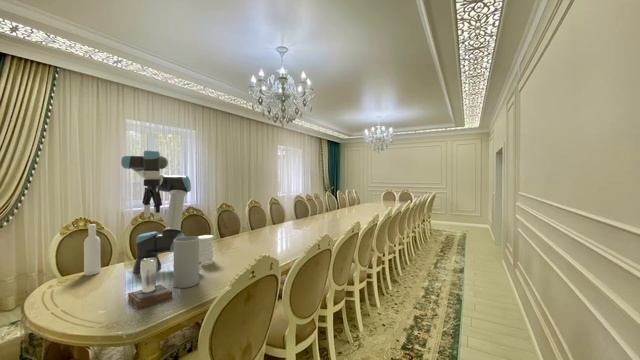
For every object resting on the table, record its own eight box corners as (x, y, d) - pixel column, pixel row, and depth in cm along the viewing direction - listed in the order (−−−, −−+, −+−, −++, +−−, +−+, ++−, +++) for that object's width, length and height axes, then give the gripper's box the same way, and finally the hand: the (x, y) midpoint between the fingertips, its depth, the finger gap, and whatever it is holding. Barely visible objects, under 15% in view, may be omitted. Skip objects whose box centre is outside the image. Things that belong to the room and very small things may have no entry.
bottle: (104, 271, 169) (103, 223, 169) (91, 275, 161) (91, 225, 161) (93, 270, 170) (93, 223, 170) (80, 275, 163) (79, 225, 163)
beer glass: (145, 287, 134) (145, 257, 133) (160, 287, 134) (160, 257, 134) (137, 293, 127) (137, 262, 127) (152, 293, 127) (152, 261, 127)
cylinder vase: (181, 279, 155) (181, 236, 155) (203, 279, 155) (202, 236, 155) (168, 288, 143) (168, 241, 142) (192, 288, 142) (191, 241, 142)
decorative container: (199, 260, 191) (199, 235, 191) (216, 259, 193) (216, 234, 193) (193, 265, 180) (193, 238, 180) (211, 265, 181) (211, 238, 181)
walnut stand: (128, 301, 128) (128, 292, 128) (160, 291, 139) (160, 283, 139) (139, 309, 119) (139, 300, 119) (172, 298, 130) (172, 290, 130)
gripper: (135, 178, 152) (135, 216, 152) (153, 178, 137) (153, 220, 137) (150, 178, 158) (150, 215, 158) (169, 178, 143) (169, 218, 143)
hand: (152, 217), depth 148 cm, fingers open, 13 cm apart
